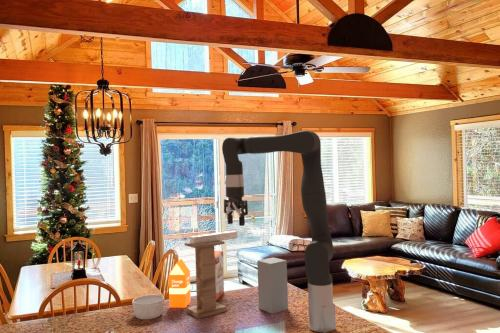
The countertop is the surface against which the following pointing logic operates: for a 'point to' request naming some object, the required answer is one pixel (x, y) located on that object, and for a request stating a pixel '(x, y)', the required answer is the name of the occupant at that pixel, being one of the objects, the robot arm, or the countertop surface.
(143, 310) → the ramekin
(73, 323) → the countertop surface
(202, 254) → the wooden pedestal
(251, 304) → the countertop surface
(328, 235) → the robot arm
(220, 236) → the bar
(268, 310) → the plinth
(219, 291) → the cracker box
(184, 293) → the orange juice
